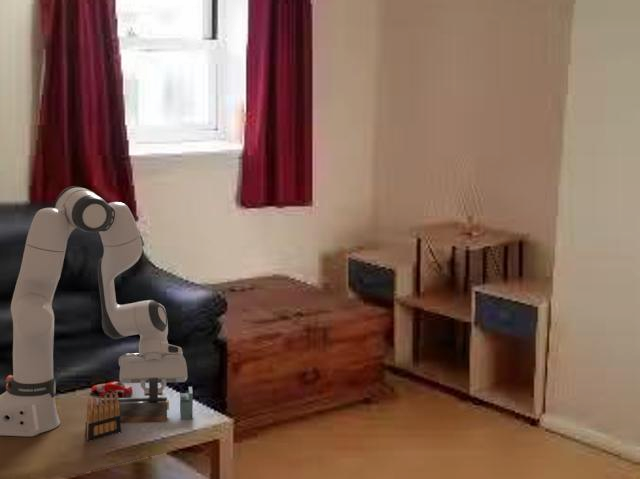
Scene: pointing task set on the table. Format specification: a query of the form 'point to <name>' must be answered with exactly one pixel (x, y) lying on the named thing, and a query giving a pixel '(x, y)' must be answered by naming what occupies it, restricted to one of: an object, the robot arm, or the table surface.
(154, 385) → the tube
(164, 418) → the channel tray
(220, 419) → the table surface
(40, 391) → the robot arm
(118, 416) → the ammunition clip
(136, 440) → the table surface
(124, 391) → the race car
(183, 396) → the socket block
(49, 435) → the table surface
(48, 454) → the table surface
